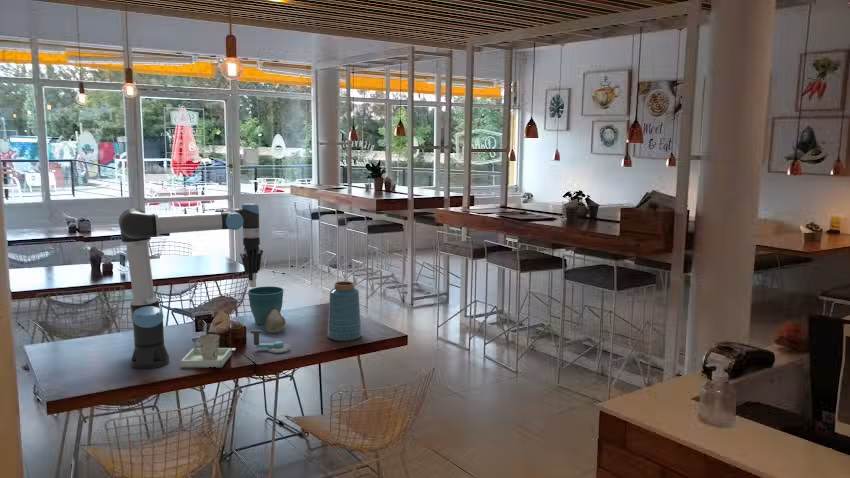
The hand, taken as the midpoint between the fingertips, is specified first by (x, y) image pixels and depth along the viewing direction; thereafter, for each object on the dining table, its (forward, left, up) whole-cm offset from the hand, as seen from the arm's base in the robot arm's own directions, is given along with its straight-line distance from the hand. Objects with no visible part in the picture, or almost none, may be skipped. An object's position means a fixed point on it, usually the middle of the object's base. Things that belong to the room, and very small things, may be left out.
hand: (252, 286), depth 310 cm
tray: (-14, -28, -26) cm, 41 cm away
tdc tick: (-8, -13, -26) cm, 30 cm away
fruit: (+7, +15, -27) cm, 31 cm away
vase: (+42, +7, -27) cm, 50 cm away
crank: (+9, -13, -25) cm, 29 cm away
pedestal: (+14, -13, -26) cm, 33 cm away
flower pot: (-1, +33, -27) cm, 42 cm away
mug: (-15, -27, -26) cm, 40 cm away
